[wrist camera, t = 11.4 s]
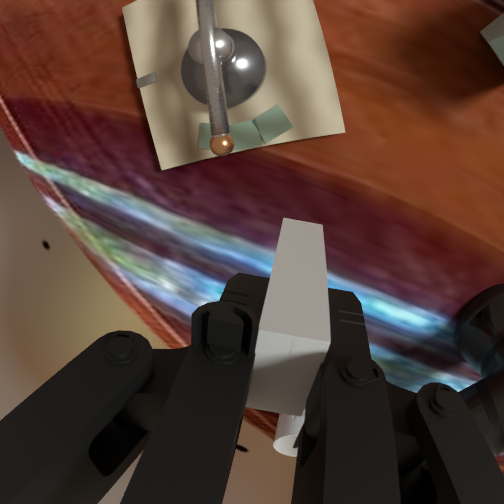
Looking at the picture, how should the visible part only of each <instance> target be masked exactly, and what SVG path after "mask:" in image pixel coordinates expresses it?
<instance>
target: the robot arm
mask: <svg viewBox="0 0 504 504" xmlns="http://www.w3.org/2000/svg"><path fill="white" fill-rule="evenodd" d="M454 339H455V344H456V347H457V349H458V351H459V354H460V355H461V357H462V358H463V359H464V360H465V361H466V362H468V363H469V364H470V365H471V366H472V367H473V368H474V369H475V370H476V371H477V372H478V373H479V374H480V375H481V377H482V380H480V381H478V382H476V383H474V384H472V385H471V386H469V387H467V388H465V389H463V390H461V391H459V392H457V391H456V390H454V389H453V388H451V387H450V386H448V385H445V384H442V383H436V382H431V383H428V384H426V385H423V386H422V388H421V389H420V390H419V391H418V393H414V392H412V391H409V390H406V389H403V388H400V387H397V386H395V385H393V384H391V383H389V382H388V381H386V378H385V375H384V373H383V371H382V369H381V368H380V366H379V365H378V364H377V363H376V362H375V361H373V360H371V354H370V348H369V342H368V337H367V331H366V326H365V321H364V316H363V311H362V306H361V302H360V301H359V300H358V298H357V297H356V296H355V294H354V293H353V292H350V291H344V290H338V289H332V288H328V284H327V270H326V258H325V247H324V236H323V226H322V225H320V224H315V223H309V222H304V221H298V220H293V219H287V218H284V219H283V223H282V228H281V232H280V237H279V241H278V246H277V250H276V254H275V259H274V263H273V268H272V272H271V276H270V278H265V277H259V276H254V275H249V274H243V273H238V274H236V275H235V276H233V277H232V278H230V279H229V280H228V282H227V284H226V286H225V288H224V292H223V293H222V295H221V297H220V301H217V302H211V303H207V304H204V305H202V306H200V307H198V308H197V309H196V310H195V311H194V312H193V313H192V331H191V345H190V346H187V347H184V348H179V349H152V347H151V345H150V343H149V341H148V340H147V339H146V338H144V337H143V336H142V335H140V334H138V333H135V332H132V331H115V332H111V333H107V334H106V335H104V336H102V337H100V338H99V339H97V340H96V341H95V342H94V343H93V344H91V345H90V346H89V347H88V348H86V349H85V350H84V351H83V352H81V353H80V354H79V355H78V356H77V357H75V358H74V359H73V360H72V361H70V362H69V363H68V364H67V365H66V366H64V367H63V368H62V369H61V370H60V371H58V372H57V373H56V374H55V375H54V376H52V377H51V378H50V379H49V380H48V381H46V382H45V383H44V384H43V385H42V386H41V387H39V388H38V389H37V390H36V391H35V392H33V393H32V394H31V395H30V396H29V397H27V398H26V399H25V400H24V401H23V402H21V403H20V404H19V405H18V406H17V407H16V408H15V409H13V410H12V411H11V412H10V413H9V414H8V415H6V416H5V417H4V418H3V419H2V420H1V421H0V504H97V503H98V502H99V501H100V500H101V499H102V498H103V497H104V496H105V494H106V493H107V492H108V491H109V490H110V489H111V488H112V486H113V485H114V484H115V483H116V482H117V481H118V479H119V478H120V477H121V476H122V475H123V473H124V472H125V471H126V470H127V469H128V467H129V466H130V465H131V464H132V463H133V462H134V460H135V459H136V458H137V457H138V455H139V454H140V453H141V452H142V451H143V453H142V455H141V457H140V459H139V462H138V464H137V466H136V468H135V471H134V473H133V475H132V477H131V480H130V482H129V484H128V487H127V489H126V491H125V493H124V496H123V498H122V500H121V502H120V504H222V501H223V497H224V494H225V490H226V485H227V482H228V478H229V474H230V470H231V466H232V462H233V458H234V454H235V450H236V446H237V441H238V437H239V433H240V429H241V424H242V419H243V414H244V410H245V407H248V408H253V409H259V410H264V411H270V412H276V413H282V414H288V415H295V416H302V414H303V411H304V409H305V420H304V423H303V425H302V427H301V430H300V432H299V434H298V436H297V438H296V440H295V443H294V445H293V448H297V447H298V450H297V460H296V469H295V477H294V485H293V493H292V501H291V504H504V476H503V474H502V472H501V469H500V467H499V465H498V463H497V461H496V459H495V457H494V456H496V455H498V454H500V453H501V452H503V451H504V284H500V285H497V286H494V287H492V288H490V289H488V290H486V291H484V292H483V293H481V294H480V295H479V296H478V297H476V298H475V299H474V300H473V301H472V302H471V303H470V304H469V306H468V307H467V308H466V309H465V311H464V312H463V314H462V315H461V317H460V319H459V321H458V323H457V326H456V329H455V336H454Z"/></svg>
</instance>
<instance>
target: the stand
mask: <svg viewBox="0 0 504 504" xmlns="http://www.w3.org/2000/svg"><path fill="white" fill-rule="evenodd" d="M214 2H215V11H216V19H217V28H220V29H222V28H228V29H235V30H238V31H241V32H243V33H245V34H247V35H248V36H250V37H251V38H252V39H253V40H254V41H255V42H256V43H257V44H258V45H259V47H260V48H261V50H262V51H263V53H264V56H265V59H266V66H267V70H266V76H265V80H264V82H263V84H262V86H261V88H260V89H259V91H258V92H257V93H256V94H255V95H254V96H253V97H252V98H250V99H249V100H247V101H246V102H244V103H242V104H239V105H236V106H231V107H227V112H228V121H229V129H230V135H231V136H232V138H233V139H234V149H233V150H232V152H231V153H233V152H238V151H243V150H247V149H252V148H257V147H262V146H267V145H272V144H277V143H283V142H288V141H294V140H300V139H306V138H312V137H318V136H324V135H331V134H338V133H345V128H344V123H343V118H342V113H341V108H340V103H339V98H338V94H337V89H336V85H335V80H334V76H333V72H332V68H331V64H330V60H329V56H328V52H327V48H326V44H325V40H324V37H323V33H322V30H321V26H320V23H319V19H318V16H317V12H316V9H315V6H314V3H313V0H214ZM122 9H123V14H124V19H125V24H126V29H127V34H128V39H129V43H130V48H131V52H132V57H133V61H134V66H135V70H136V74H137V79H136V82H137V87H138V88H140V91H141V95H142V99H143V103H144V107H145V111H146V115H147V119H148V122H149V126H150V130H151V134H152V137H153V141H154V145H155V148H156V152H157V155H158V159H159V162H160V166H161V169H162V170H165V169H169V168H172V167H176V166H180V165H184V164H187V163H191V162H195V161H199V160H203V159H208V158H212V157H216V156H217V155H215V154H214V153H213V152H212V151H211V149H210V146H209V143H210V139H211V138H212V136H211V129H210V122H209V114H208V106H207V105H205V104H203V103H201V102H199V101H197V100H196V99H195V98H193V97H192V96H191V95H190V94H189V92H188V91H187V89H186V88H185V86H184V84H183V81H182V77H181V63H182V59H183V56H184V54H185V52H186V50H187V48H188V43H189V40H190V38H191V36H192V35H193V34H194V33H195V32H196V31H197V30H199V29H198V20H197V11H196V1H195V0H137V1H135V2H133V3H131V4H129V5H127V6H125V7H123V8H122Z"/></svg>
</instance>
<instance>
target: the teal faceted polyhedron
mask: <svg viewBox="0 0 504 504" xmlns="http://www.w3.org/2000/svg"><path fill="white" fill-rule="evenodd" d="M480 34H481V35H482V36H483V38H484V39H485V40H486V42H487V43H488V44H489V46H490V47H491V49H492V50H493V52H494V53H495V54H496V56H497V57H498V59H499V60H500V62H501V63H502V65H503V67H504V12H503V13H502V14H501V15H500V16H499V17H497V18H496V19H495V20H494V21H492V22H491V23H490V24H489V25H487V26H486V27H485V28H484V29H483V30H481V31H480Z"/></svg>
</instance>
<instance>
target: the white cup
mask: <svg viewBox="0 0 504 504" xmlns="http://www.w3.org/2000/svg"><path fill="white" fill-rule="evenodd" d="M304 420H305V409H304V411H303V414H302V416H295V415H288V414H282V413H280V415H279V419H278V423H277V428H276V433H275V438H274V442H273V447H274V449H275V450H276V451H278V452H279V453H281V454H284V455H287V456H293V457H297V450H298V447H297V448H293V445H294V443H295V440H296V438H297V436H298V434H299V432H300V430H301V427H302V425H303V423H304Z"/></svg>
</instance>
